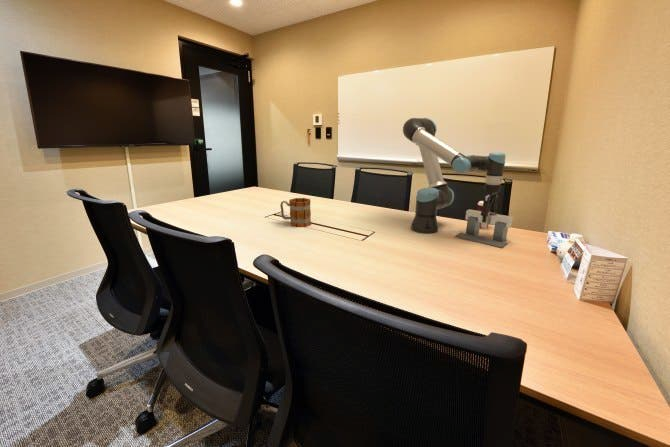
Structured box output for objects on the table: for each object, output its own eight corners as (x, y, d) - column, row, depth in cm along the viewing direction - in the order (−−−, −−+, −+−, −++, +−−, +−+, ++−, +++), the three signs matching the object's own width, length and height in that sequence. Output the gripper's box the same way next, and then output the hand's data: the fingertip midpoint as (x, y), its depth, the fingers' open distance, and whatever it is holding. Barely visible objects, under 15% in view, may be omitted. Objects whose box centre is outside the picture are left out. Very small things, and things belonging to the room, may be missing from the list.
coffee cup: (491, 229, 179) (495, 204, 175) (476, 228, 181) (479, 203, 176) (487, 225, 187) (491, 200, 183) (473, 224, 189) (476, 200, 184)
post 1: (465, 234, 171) (467, 217, 168) (470, 231, 176) (473, 214, 173) (473, 236, 168) (476, 218, 165) (478, 233, 173) (481, 216, 170)
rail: (465, 219, 171) (466, 210, 169) (468, 218, 173) (469, 209, 172) (508, 228, 156) (510, 218, 154) (511, 226, 159) (512, 216, 157)
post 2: (492, 240, 161) (495, 222, 158) (497, 237, 166) (499, 219, 163) (501, 242, 158) (504, 224, 156) (506, 239, 163) (509, 221, 160)
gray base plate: (454, 236, 167) (454, 235, 167) (460, 233, 173) (460, 232, 173) (501, 248, 151) (502, 247, 151) (507, 244, 157) (507, 243, 156)
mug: (314, 222, 195) (314, 198, 190) (307, 228, 182) (306, 203, 178) (286, 219, 200) (285, 196, 196) (276, 225, 188) (275, 201, 183)
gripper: (493, 187, 149) (486, 232, 155) (508, 182, 163) (501, 223, 170) (477, 185, 154) (471, 228, 160) (493, 180, 168) (487, 220, 175)
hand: (486, 225), depth 165 cm, fingers open, 9 cm apart
